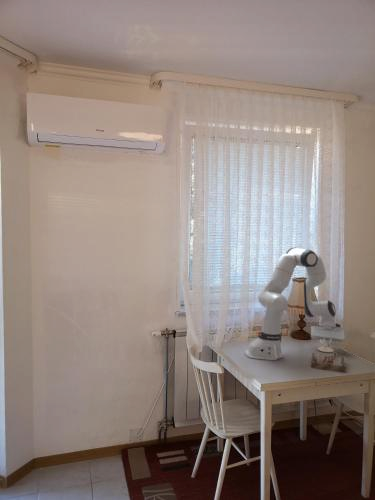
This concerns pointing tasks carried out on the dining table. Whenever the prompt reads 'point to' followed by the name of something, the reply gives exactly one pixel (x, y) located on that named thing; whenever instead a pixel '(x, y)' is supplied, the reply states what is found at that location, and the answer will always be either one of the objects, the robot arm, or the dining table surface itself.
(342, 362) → the walnut tea frame
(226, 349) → the dining table surface
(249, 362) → the dining table surface
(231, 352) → the dining table surface
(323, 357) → the teacup with lid
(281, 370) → the dining table surface
